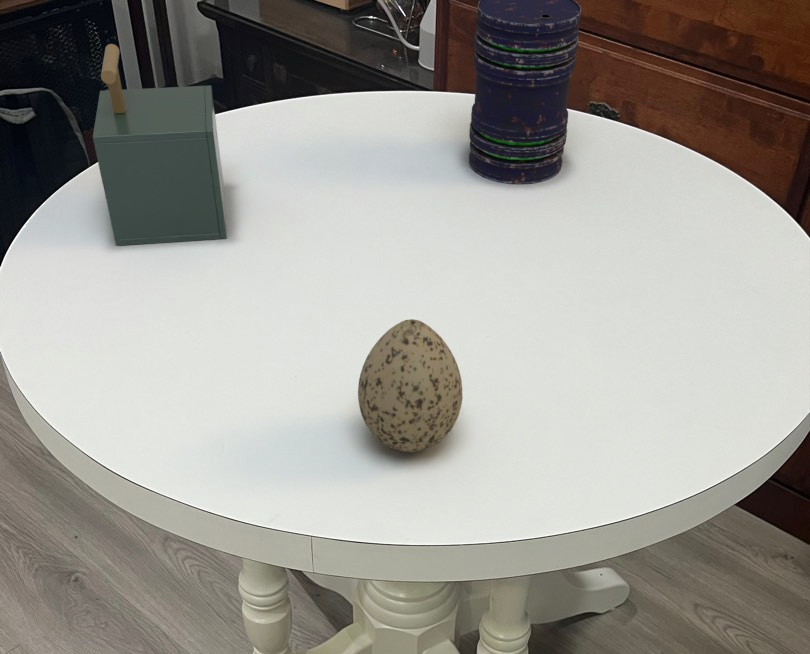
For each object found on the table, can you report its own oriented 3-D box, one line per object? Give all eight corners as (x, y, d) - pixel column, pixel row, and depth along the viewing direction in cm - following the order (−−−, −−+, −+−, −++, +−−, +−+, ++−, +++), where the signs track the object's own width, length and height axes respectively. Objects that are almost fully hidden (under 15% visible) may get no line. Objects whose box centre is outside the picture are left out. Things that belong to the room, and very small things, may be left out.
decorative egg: (458, 412, 74) (466, 293, 66) (460, 476, 69) (467, 355, 61) (362, 409, 74) (359, 291, 67) (356, 473, 69) (352, 352, 62)
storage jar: (450, 152, 105) (457, -2, 94) (530, 135, 108) (545, -16, 97) (498, 192, 98) (511, 31, 88) (581, 173, 102) (603, 15, 91)
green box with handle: (115, 246, 90) (80, 80, 80) (121, 195, 97) (89, 36, 87) (226, 238, 91) (205, 74, 81) (224, 189, 98) (204, 31, 88)
